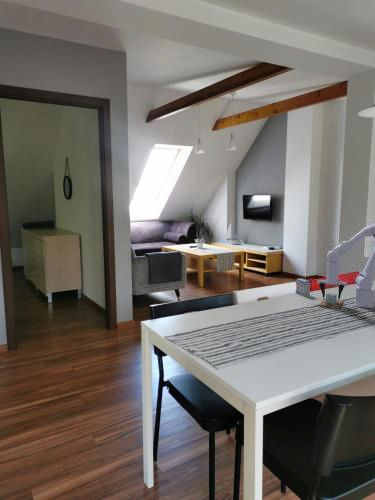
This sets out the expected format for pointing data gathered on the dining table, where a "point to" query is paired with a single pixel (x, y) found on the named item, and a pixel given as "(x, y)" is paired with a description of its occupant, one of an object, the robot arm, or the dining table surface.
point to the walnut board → (336, 305)
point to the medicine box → (303, 287)
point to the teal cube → (331, 298)
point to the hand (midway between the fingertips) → (331, 298)
